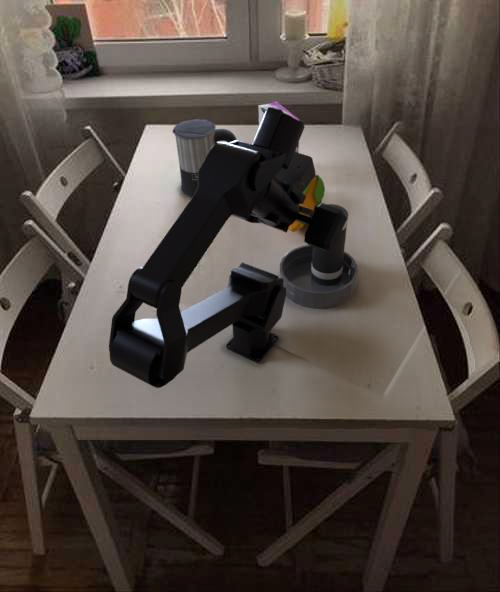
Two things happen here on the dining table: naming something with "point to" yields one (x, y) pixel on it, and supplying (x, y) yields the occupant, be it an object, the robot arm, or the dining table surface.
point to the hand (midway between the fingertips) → (302, 228)
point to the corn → (310, 199)
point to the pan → (306, 289)
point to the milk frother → (196, 148)
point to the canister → (329, 259)
